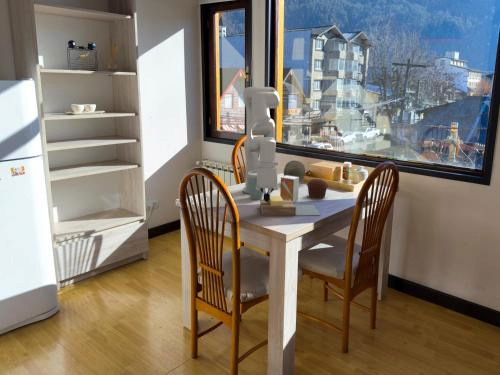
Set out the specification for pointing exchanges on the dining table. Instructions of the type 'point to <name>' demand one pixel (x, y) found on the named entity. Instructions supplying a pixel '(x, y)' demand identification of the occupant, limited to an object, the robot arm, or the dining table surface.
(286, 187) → the small box
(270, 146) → the robot arm
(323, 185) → the muffin
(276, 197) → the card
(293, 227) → the dining table surface
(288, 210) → the deck
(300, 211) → the mat
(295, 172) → the cantaloupe
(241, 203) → the dining table surface
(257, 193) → the disposable coffee cup
